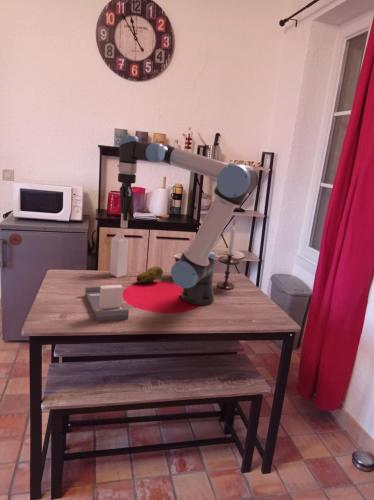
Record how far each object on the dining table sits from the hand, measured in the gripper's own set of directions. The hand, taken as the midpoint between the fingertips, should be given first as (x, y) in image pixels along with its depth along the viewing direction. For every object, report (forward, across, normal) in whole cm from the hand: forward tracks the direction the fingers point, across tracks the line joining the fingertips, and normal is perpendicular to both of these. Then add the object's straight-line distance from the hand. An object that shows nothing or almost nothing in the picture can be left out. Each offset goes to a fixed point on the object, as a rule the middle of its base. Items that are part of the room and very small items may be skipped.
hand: (124, 227), depth 163 cm
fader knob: (+27, +26, -11) cm, 39 cm away
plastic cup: (+30, -12, +36) cm, 49 cm away
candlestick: (+30, +4, +54) cm, 61 cm away
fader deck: (+29, +17, -11) cm, 36 cm away
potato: (+30, -7, +16) cm, 35 cm away
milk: (+30, -20, +4) cm, 36 cm away
